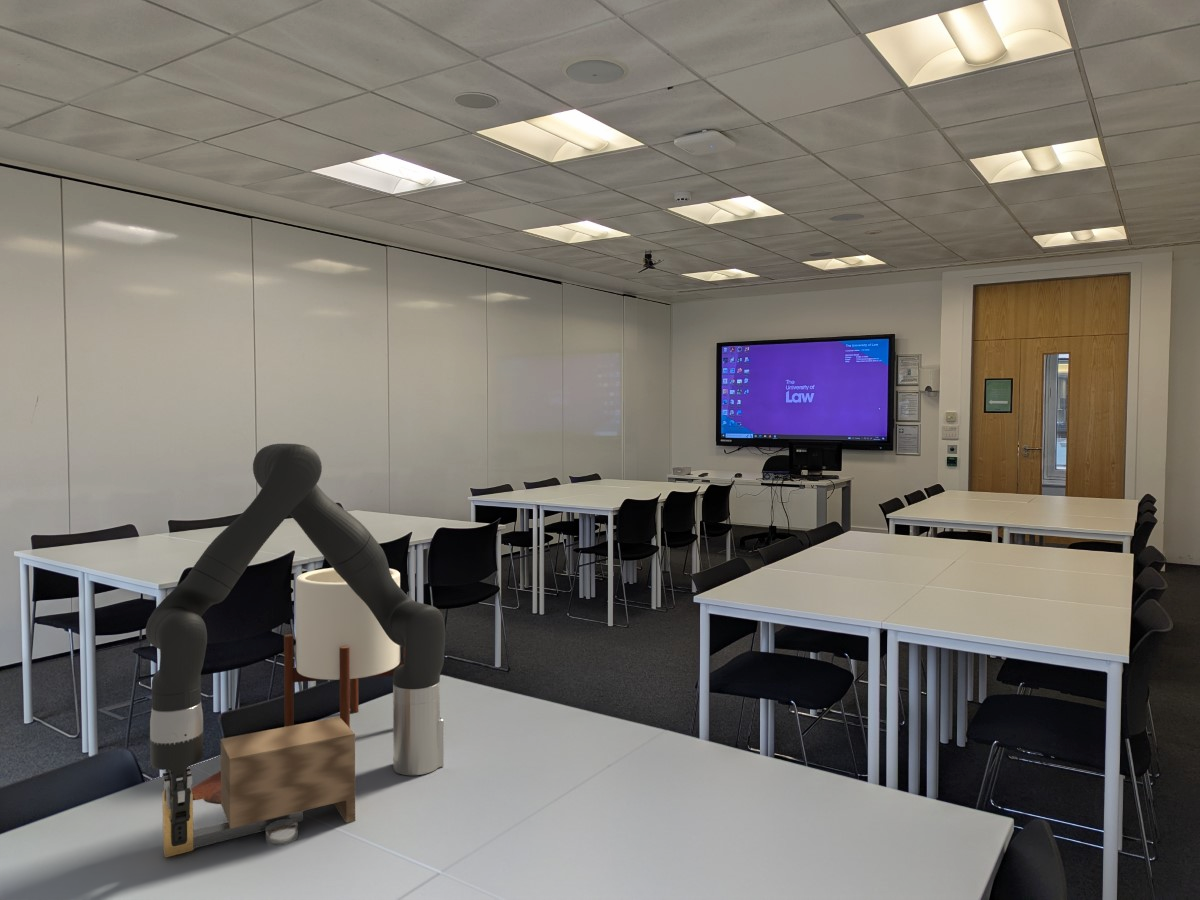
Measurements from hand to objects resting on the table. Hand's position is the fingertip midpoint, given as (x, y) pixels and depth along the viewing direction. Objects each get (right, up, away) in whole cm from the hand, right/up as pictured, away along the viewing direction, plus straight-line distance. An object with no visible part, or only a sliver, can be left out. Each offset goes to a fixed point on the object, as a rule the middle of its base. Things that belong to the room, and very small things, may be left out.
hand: (177, 837), depth 129 cm
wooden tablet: (-2, -3, +31) cm, 31 cm away
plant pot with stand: (+11, -2, +53) cm, 54 cm away
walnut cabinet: (+14, -2, +10) cm, 17 cm away
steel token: (+15, -3, +5) cm, 16 cm away
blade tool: (+7, -2, +5) cm, 9 cm away
